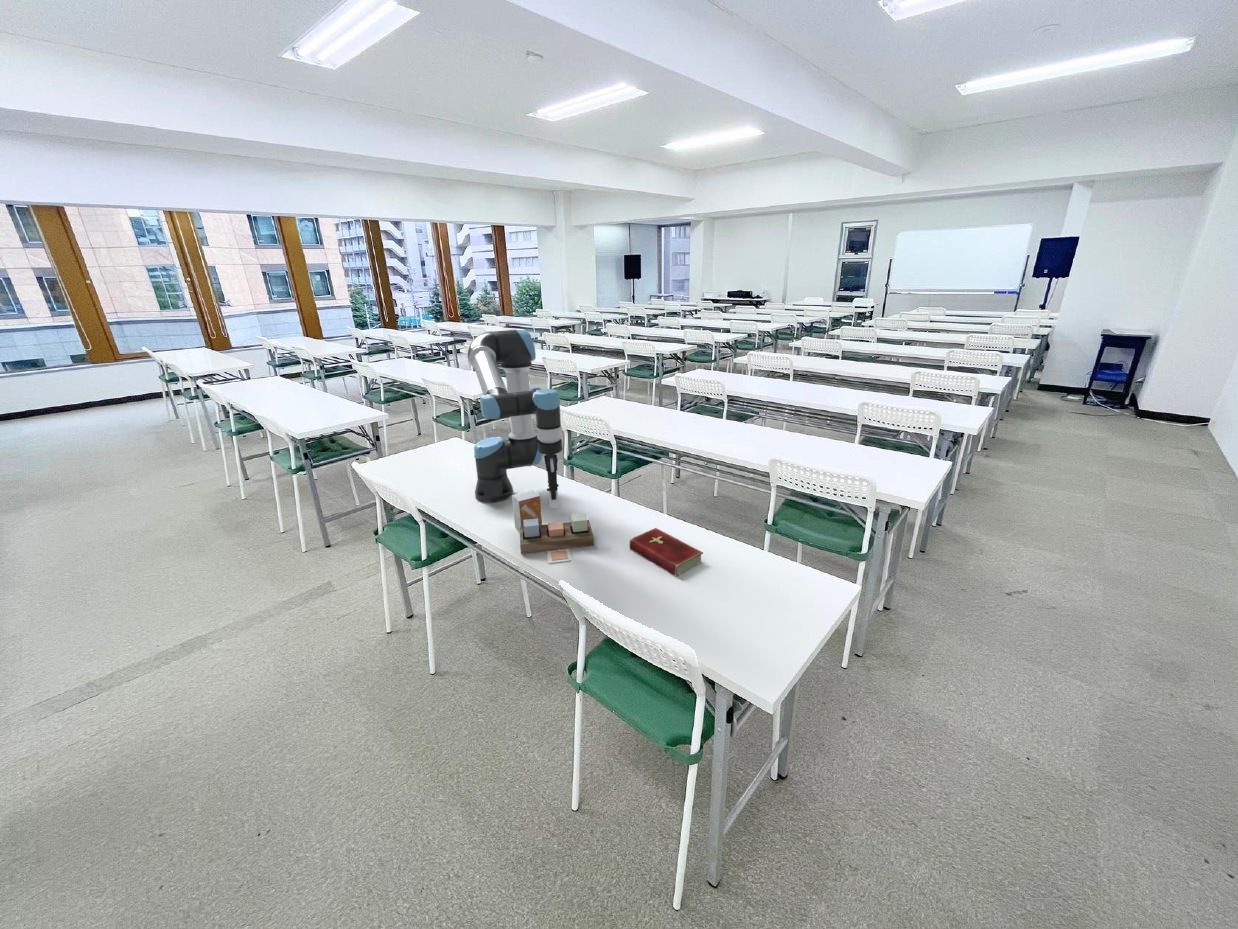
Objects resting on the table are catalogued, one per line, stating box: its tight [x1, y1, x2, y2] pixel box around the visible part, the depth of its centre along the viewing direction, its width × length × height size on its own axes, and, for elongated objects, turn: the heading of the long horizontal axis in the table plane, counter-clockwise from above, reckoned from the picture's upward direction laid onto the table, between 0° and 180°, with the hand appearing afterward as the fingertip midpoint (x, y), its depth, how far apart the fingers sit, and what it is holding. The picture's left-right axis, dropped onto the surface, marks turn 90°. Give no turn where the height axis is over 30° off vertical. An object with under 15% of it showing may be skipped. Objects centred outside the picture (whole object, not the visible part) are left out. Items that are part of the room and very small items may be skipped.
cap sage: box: [570, 513, 588, 532], centre depth 167 cm, size 5×5×5 cm
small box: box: [511, 489, 543, 533], centre depth 174 cm, size 8×6×13 cm
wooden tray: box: [519, 519, 595, 555], centre depth 167 cm, size 12×24×4 cm, turn 101°
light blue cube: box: [523, 518, 539, 537], centre depth 165 cm, size 5×5×5 cm
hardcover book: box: [629, 527, 704, 577], centre depth 158 cm, size 12×21×4 cm, turn 40°
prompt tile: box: [546, 549, 572, 564], centre depth 159 cm, size 7×7×1 cm
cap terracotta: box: [547, 521, 564, 537], centre depth 167 cm, size 5×5×5 cm
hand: (554, 506), depth 164 cm, fingers closed
